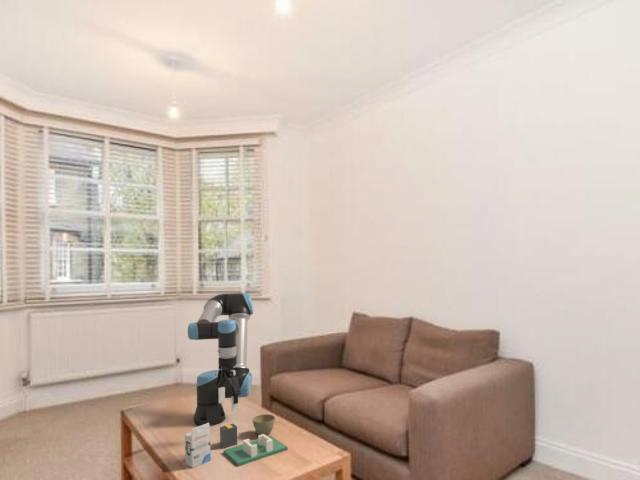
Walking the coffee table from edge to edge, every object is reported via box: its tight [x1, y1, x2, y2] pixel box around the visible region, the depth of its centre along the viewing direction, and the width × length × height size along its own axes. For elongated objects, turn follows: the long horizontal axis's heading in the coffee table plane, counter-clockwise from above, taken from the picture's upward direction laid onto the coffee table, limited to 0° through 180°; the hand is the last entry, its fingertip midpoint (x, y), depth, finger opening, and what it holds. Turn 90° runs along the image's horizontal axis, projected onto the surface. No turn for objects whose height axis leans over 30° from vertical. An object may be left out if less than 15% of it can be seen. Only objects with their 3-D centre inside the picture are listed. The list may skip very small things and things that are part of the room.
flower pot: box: [252, 413, 276, 437], centre depth 193 cm, size 10×10×7 cm
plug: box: [219, 423, 238, 449], centre depth 183 cm, size 4×6×8 cm, turn 126°
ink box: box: [184, 423, 211, 469], centre depth 168 cm, size 8×5×15 cm, turn 140°
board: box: [223, 434, 289, 467], centre depth 176 cm, size 14×22×5 cm, turn 126°
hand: (228, 406), depth 183 cm, fingers open, 13 cm apart
